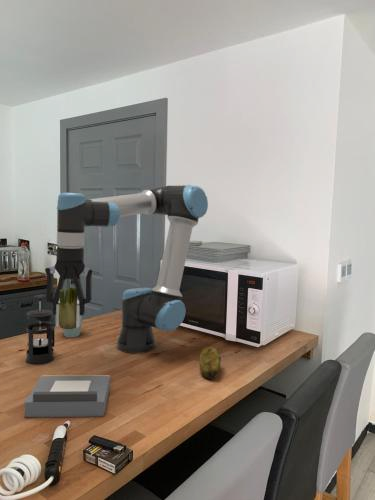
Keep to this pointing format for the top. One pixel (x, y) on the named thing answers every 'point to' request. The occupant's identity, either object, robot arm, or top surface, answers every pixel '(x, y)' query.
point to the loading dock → (68, 396)
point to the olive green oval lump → (210, 362)
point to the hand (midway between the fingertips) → (68, 325)
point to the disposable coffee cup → (75, 331)
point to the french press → (40, 347)
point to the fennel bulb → (68, 309)
